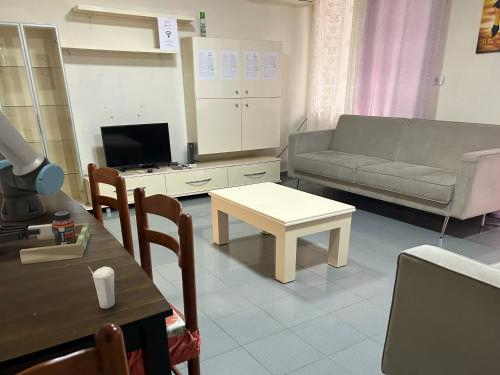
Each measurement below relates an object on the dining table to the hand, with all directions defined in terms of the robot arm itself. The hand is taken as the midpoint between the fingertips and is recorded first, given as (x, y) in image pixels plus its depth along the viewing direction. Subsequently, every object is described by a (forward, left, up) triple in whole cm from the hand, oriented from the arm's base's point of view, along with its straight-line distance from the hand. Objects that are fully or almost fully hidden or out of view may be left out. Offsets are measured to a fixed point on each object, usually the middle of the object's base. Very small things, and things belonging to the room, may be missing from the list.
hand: (52, 228), depth 113 cm
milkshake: (+38, +18, -7) cm, 43 cm away
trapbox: (0, +1, -6) cm, 7 cm away
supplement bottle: (0, +3, -7) cm, 7 cm away
